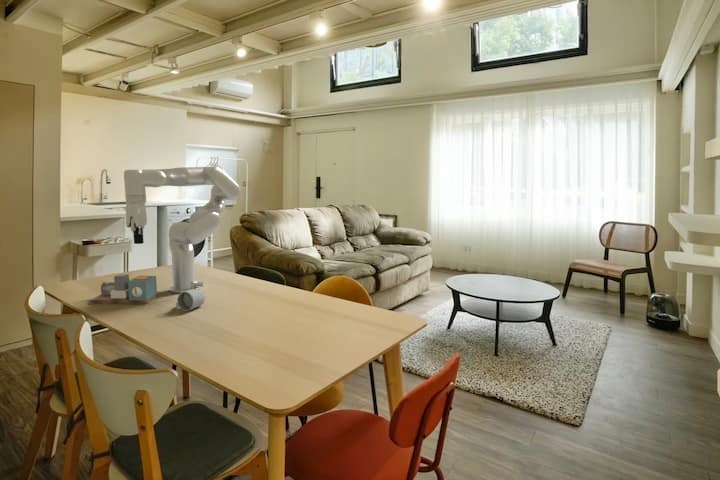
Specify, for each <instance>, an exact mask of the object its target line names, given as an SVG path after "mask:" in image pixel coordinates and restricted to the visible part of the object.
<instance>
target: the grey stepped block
mask: <svg viewBox="0 0 720 480" xmlns="http://www.w3.org/2000/svg"><path fill="white" fill-rule="evenodd" d="M113 278H114V279H113V280H114V281H113V282H114V283H115V290H112V291H111V298H125V299H126V298H128V297H129V289H128V281H129V280H130V274H128V273H126V274H125V273H121V274H120V273H119V274H117V275H114V276H113Z"/></svg>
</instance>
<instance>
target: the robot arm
mask: <svg viewBox="0 0 720 480" xmlns="http://www.w3.org/2000/svg"><path fill="white" fill-rule="evenodd" d="M123 181H124V196H125V204H126V205H125V226H126V228H130V231H131V232H132V235H133V244H135V245H136V244H137V245H140V244H141V245H142V244H144V230H145V226H147V224H148V218H147V208H146V204H147V194H146V188H160V187H165V186H166V187H167V186H168V187H194V186H195V187H196V186H212V187H211V190H210V199H209V201H208V202H207V203H206V204H204V205H203V206H201V207H200V208H199V209H196V211H193V213H191V215H190V216H189V219H188V221H186V222H184V221H177V222H174V223H173V224H172V225H171V226H170V227H169V230H168V238H169V243H170V248H171V262H172V263H171V264H172V265H171V266H172V267H171V269H172V286H171V287H170V288H169V292H170V293H176V294H180V293H181V292H184V291H189V290H193V289H198V290H200V288H201V287H205V283H204V281H198V279H197V278H196V274H195V273H196V271H195V250H194V249H195V248H194V246H193V245H197V244H199V243H202V242H203V241H205V240H206V239H207V238H208V237H210V236H211V235H212V234H214V233H215V232H217V230H218V229H219V228H220V226H221V223H222V218H221V216H222V215H223V214H224V212H225V210H226V201H235V200H236V201H237V199H239V198H240V196H241V194H242V193H241V191H242V189H241V187H240V185H239V183H237V182H236V181H235V180H234V179H233V178H232V177H231V176H230V175H228V174H227V172H226V171H224V170H223V169H221V168H220V167H217V166H188V167H184V166H183V167H172V168H159V169H157V168H156V169H154V168H153V169H152V168H151V169H150V168H149V169H126V170H124V172H123Z"/></svg>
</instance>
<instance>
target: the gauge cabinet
mask: <svg viewBox="0 0 720 480" xmlns="http://www.w3.org/2000/svg"><path fill="white" fill-rule="evenodd" d="M138 277H149V278H148V279H146V280H135V279H136V278H138ZM128 289H129V300H148V299H149V298H151V297H153V296H154V295H156V294H157V295H158V290H157V289H158V285H157V275H139V276H136V277H134V278H131V279H129V281H128Z"/></svg>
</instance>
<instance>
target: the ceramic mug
mask: <svg viewBox="0 0 720 480" xmlns="http://www.w3.org/2000/svg"><path fill="white" fill-rule="evenodd" d="M178 294H179V295H178V296H177V300H176V303H175V307H176V308H179V309H181V310H182V311H184V312H188V311H191V310H193V309H196V308H199V307H201V306H202V305H203V304H205V301H206V298H205V297H206V296H205V293H204V291H202V290H201V289H193V290H189V291H184V292H181V293H178Z"/></svg>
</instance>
